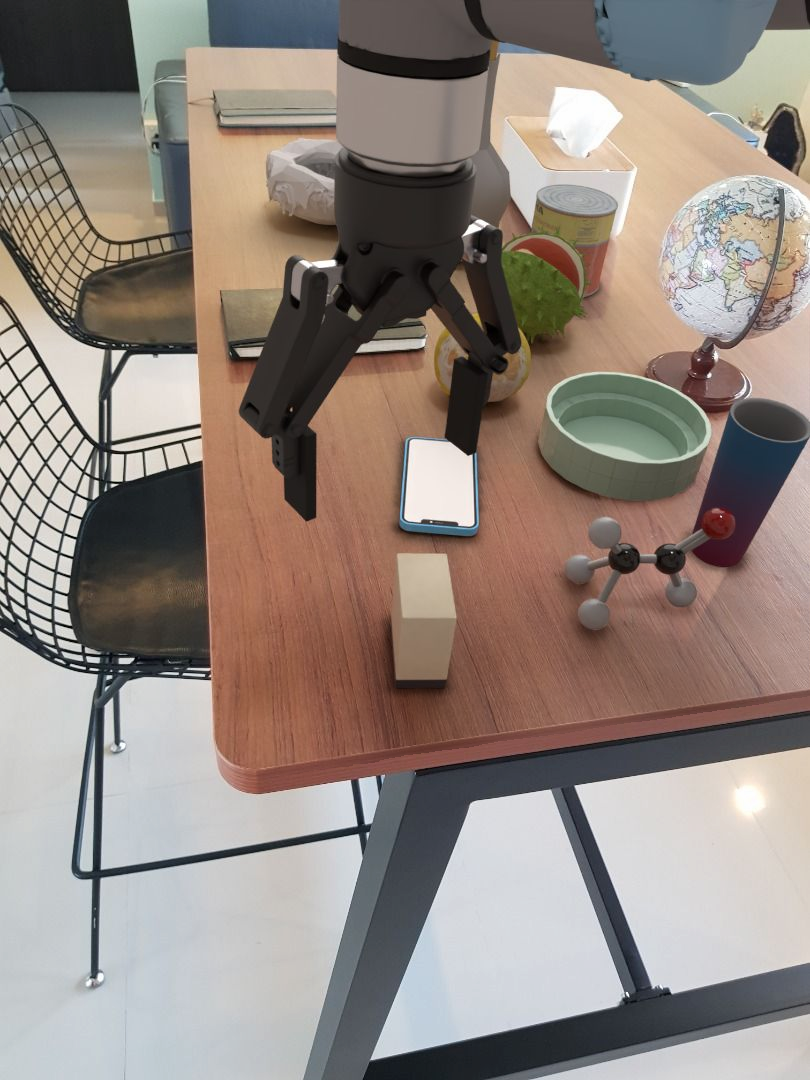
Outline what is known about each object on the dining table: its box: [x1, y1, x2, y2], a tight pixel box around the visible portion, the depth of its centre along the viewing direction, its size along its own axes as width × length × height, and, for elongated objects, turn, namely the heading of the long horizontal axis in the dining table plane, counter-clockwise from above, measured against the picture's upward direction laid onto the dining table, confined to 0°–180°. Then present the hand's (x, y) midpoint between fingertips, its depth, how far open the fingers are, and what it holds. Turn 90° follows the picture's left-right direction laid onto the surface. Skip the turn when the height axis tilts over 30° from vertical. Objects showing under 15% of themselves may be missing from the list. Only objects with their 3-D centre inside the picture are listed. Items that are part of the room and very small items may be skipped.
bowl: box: [265, 137, 343, 226], centre depth 134 cm, size 21×20×10 cm
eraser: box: [389, 552, 457, 689], centre depth 67 cm, size 7×4×8 cm, turn 4°
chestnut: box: [501, 226, 592, 345], centre depth 108 cm, size 15×14×15 cm
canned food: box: [530, 184, 619, 298], centre depth 122 cm, size 11×11×12 cm
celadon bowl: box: [537, 371, 713, 502], centre depth 91 cm, size 17×17×6 cm
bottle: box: [461, 40, 512, 261], centre depth 119 cm, size 11×11×30 cm
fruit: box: [433, 312, 532, 403], centre depth 96 cm, size 10×11×10 cm
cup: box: [690, 397, 810, 568], centre depth 77 cm, size 7×7×15 cm
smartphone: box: [398, 436, 480, 537], centre depth 86 cm, size 8×1×15 cm
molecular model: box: [564, 508, 736, 631], centre depth 72 cm, size 8×12×11 cm
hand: (384, 475), depth 59 cm, fingers open, 13 cm apart
